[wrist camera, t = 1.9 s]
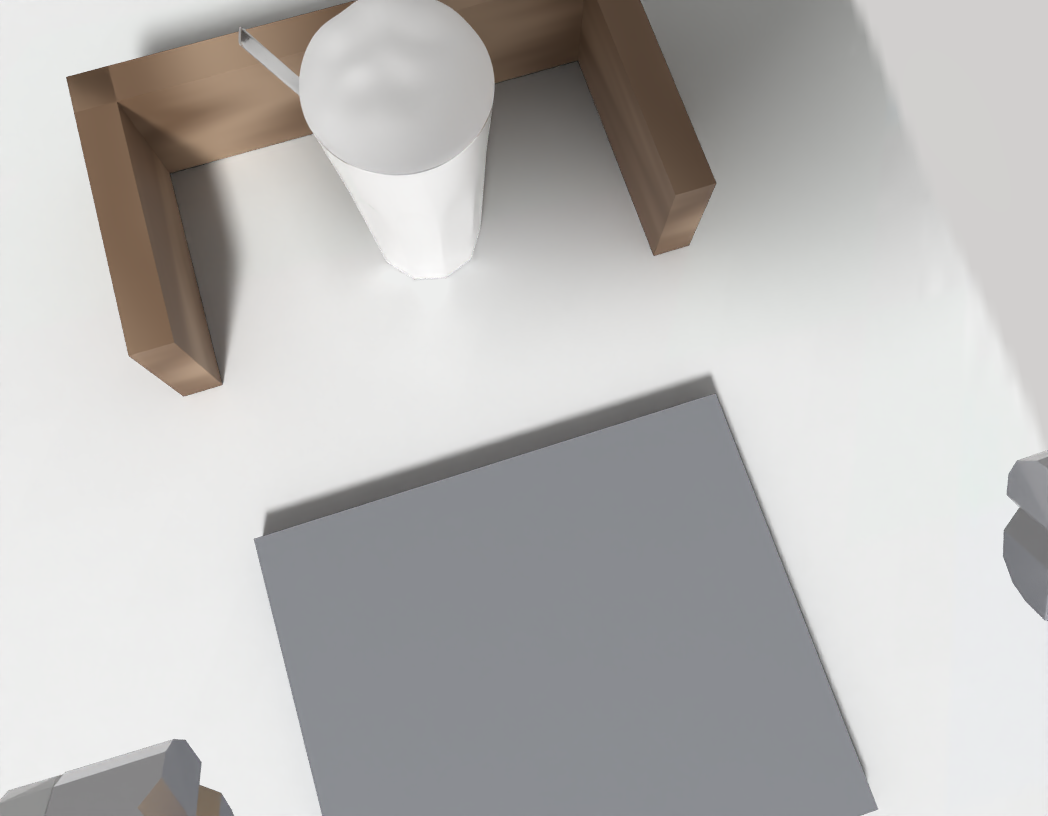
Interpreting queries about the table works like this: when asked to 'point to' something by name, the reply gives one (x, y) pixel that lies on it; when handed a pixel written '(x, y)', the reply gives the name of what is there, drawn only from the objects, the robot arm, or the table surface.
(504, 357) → the table surface
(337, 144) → the milkshake
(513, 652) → the grey pad
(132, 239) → the walnut cubby
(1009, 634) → the table surface
